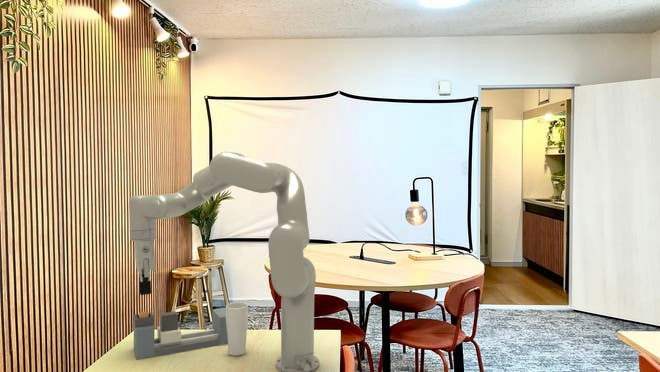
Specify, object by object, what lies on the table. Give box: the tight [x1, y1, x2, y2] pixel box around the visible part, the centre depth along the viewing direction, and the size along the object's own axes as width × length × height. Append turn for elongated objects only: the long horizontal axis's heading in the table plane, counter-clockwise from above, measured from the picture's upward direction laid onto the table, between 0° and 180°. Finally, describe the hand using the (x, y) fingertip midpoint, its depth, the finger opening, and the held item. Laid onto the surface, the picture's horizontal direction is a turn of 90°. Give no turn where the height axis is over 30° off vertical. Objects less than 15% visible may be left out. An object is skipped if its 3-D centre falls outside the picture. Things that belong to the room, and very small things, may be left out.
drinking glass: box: [225, 302, 249, 357], centre depth 140 cm, size 7×7×15 cm
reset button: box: [138, 310, 150, 318], centre depth 140 cm, size 3×3×3 cm
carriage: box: [156, 311, 182, 344], centre depth 144 cm, size 6×8×8 cm
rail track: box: [133, 307, 228, 361], centre depth 146 cm, size 30×10×12 cm, turn 118°
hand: (145, 293), depth 140 cm, fingers closed
